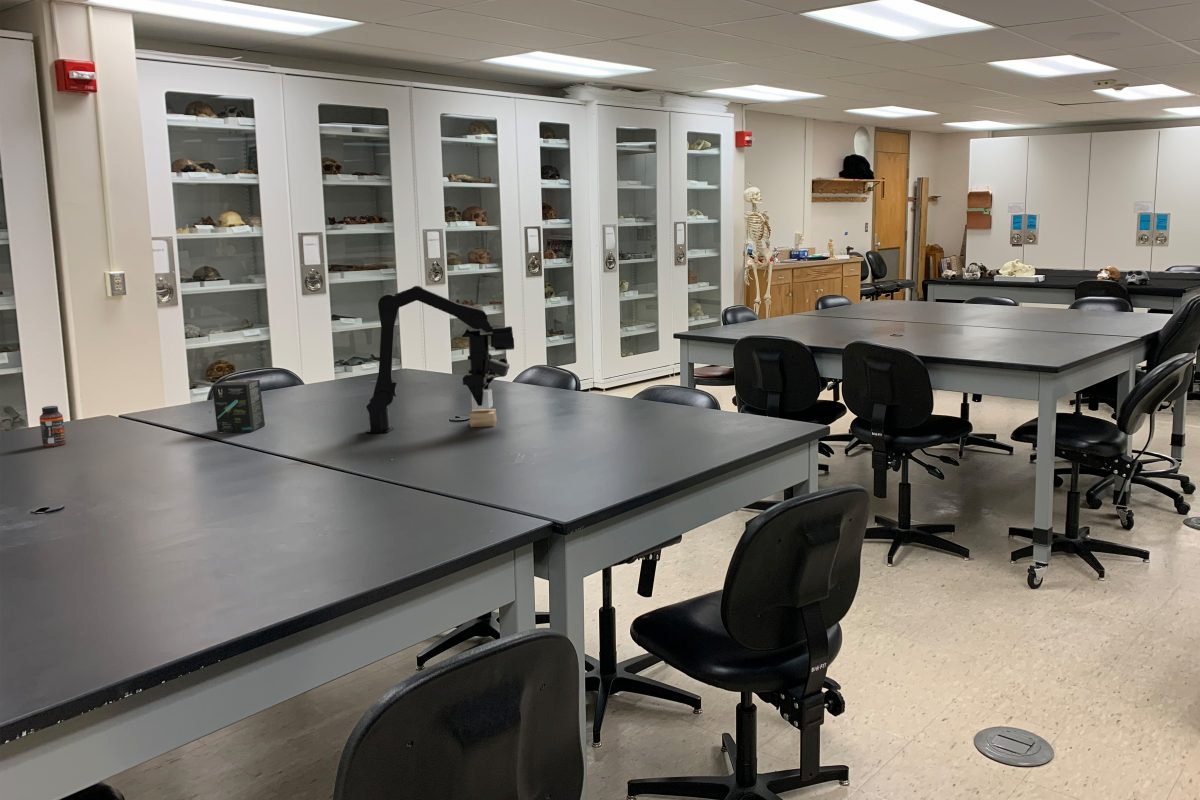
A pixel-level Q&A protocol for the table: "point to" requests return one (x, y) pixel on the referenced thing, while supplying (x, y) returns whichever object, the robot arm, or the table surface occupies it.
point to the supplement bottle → (52, 427)
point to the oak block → (482, 417)
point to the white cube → (486, 401)
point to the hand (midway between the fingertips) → (482, 404)
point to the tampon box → (238, 406)
